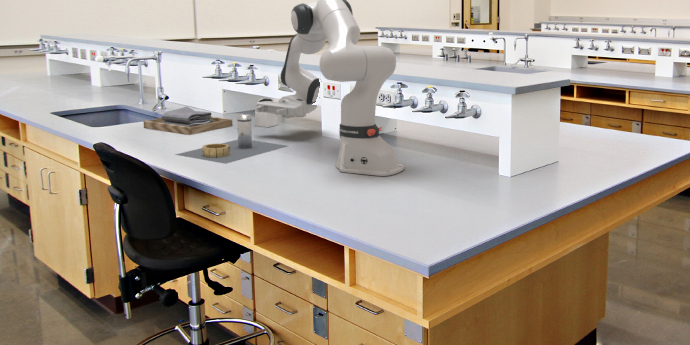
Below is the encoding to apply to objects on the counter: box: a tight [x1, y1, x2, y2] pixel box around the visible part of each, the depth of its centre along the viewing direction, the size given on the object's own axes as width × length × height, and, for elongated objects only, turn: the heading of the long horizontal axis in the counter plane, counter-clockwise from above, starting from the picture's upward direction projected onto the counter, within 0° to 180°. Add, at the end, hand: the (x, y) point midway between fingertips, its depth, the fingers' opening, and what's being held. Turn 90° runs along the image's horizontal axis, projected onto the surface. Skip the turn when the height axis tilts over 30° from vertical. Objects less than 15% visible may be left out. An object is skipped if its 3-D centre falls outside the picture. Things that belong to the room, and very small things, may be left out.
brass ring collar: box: [201, 143, 230, 158], centre depth 216 cm, size 9×9×3 cm
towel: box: [161, 106, 213, 127], centre depth 272 cm, size 15×18×8 cm
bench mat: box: [175, 139, 288, 165], centre depth 224 cm, size 24×34×1 cm
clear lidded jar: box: [236, 113, 253, 149], centre depth 227 cm, size 5×5×12 cm
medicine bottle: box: [254, 98, 278, 128], centre depth 274 cm, size 7×7×12 cm
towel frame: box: [142, 116, 233, 136], centre depth 271 cm, size 28×25×3 cm
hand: (266, 111), depth 236 cm, fingers open, 8 cm apart
